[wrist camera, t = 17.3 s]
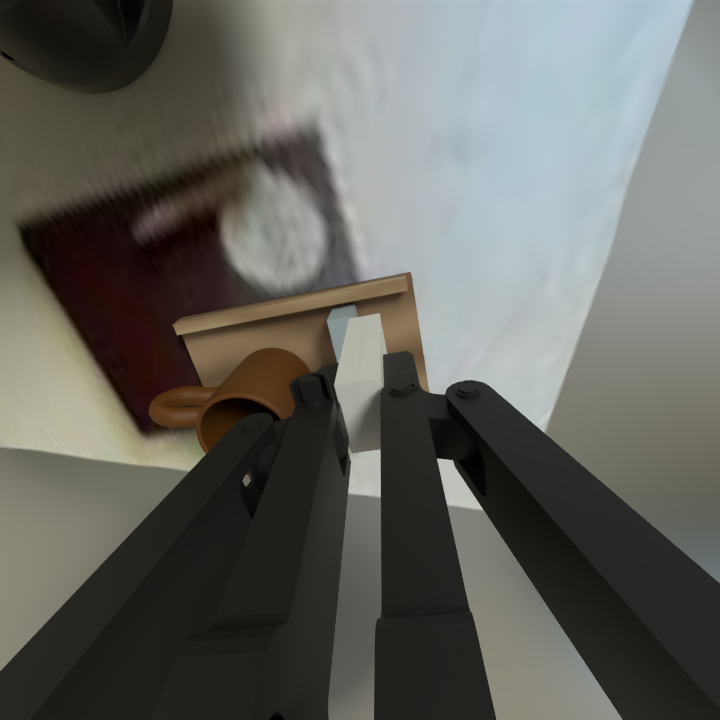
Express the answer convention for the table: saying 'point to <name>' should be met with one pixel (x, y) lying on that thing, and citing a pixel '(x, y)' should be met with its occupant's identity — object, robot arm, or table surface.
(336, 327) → the bar
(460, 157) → the table surface
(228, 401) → the mug
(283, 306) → the housing base
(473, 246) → the table surface
